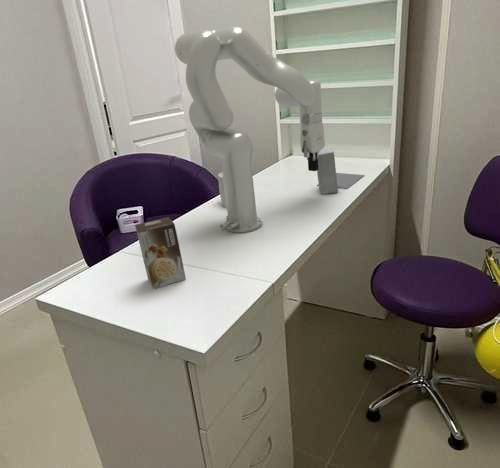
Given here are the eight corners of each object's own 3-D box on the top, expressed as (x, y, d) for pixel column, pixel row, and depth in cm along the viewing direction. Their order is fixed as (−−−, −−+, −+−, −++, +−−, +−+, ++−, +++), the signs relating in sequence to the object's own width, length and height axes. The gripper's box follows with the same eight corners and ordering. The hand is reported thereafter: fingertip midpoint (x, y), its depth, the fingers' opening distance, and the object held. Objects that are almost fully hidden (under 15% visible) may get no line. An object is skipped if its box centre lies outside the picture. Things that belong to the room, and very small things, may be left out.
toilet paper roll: (257, 198, 165) (254, 169, 161) (242, 209, 156) (239, 178, 151) (231, 196, 171) (228, 168, 166) (215, 206, 162) (211, 177, 157)
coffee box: (180, 269, 117) (169, 215, 110) (186, 279, 111) (175, 223, 105) (147, 279, 114) (134, 224, 107) (151, 289, 108) (138, 232, 102)
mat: (347, 189, 164) (347, 188, 164) (316, 186, 172) (316, 185, 172) (364, 175, 178) (364, 175, 177) (335, 173, 185) (335, 172, 185)
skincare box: (338, 192, 161) (336, 152, 154) (319, 195, 162) (316, 154, 155) (334, 185, 169) (332, 146, 162) (316, 187, 169) (314, 148, 162)
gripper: (310, 122, 138) (313, 177, 145) (330, 114, 149) (331, 165, 156) (290, 122, 142) (294, 175, 149) (311, 114, 153) (313, 164, 160)
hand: (313, 170), depth 153 cm, fingers closed
